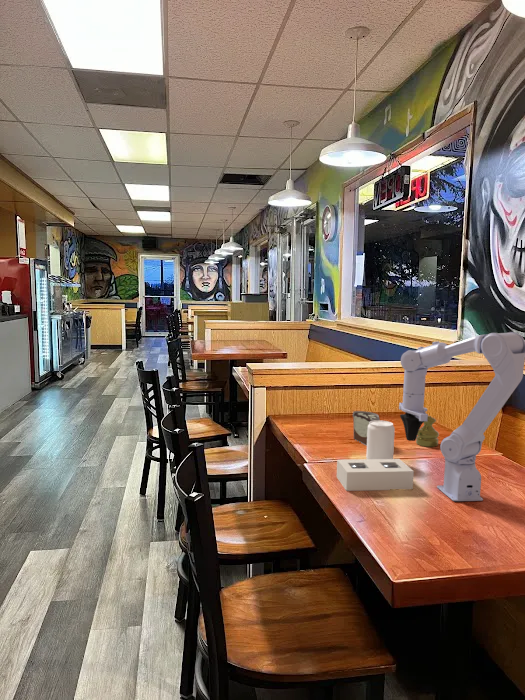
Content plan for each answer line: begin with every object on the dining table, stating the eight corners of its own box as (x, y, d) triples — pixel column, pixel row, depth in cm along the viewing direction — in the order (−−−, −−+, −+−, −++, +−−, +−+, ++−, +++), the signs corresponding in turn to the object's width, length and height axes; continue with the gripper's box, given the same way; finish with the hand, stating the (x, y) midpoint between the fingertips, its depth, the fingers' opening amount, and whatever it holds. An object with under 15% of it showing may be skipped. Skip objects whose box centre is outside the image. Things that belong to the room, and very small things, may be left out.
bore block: (412, 489, 132) (413, 471, 132) (346, 490, 130) (347, 472, 130) (398, 475, 142) (399, 458, 141) (336, 477, 140) (337, 459, 140)
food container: (386, 446, 170) (387, 417, 169) (371, 448, 168) (372, 419, 167) (366, 436, 182) (367, 409, 181) (351, 438, 179) (352, 410, 178)
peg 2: (399, 483, 135) (400, 467, 134) (385, 483, 134) (385, 467, 134) (393, 478, 139) (394, 462, 138) (379, 478, 138) (380, 462, 138)
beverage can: (393, 458, 158) (394, 421, 156) (392, 466, 150) (394, 427, 149) (366, 455, 160) (368, 419, 158) (365, 463, 152) (367, 425, 151)
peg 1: (366, 484, 134) (367, 468, 133) (352, 484, 133) (353, 468, 133) (362, 478, 138) (363, 463, 137) (348, 479, 137) (348, 463, 137)
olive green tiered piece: (416, 446, 171) (418, 417, 170) (415, 440, 179) (416, 413, 177) (439, 448, 170) (441, 419, 169) (437, 442, 177) (438, 414, 176)
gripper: (439, 398, 133) (436, 447, 135) (416, 388, 148) (413, 432, 149) (414, 398, 132) (411, 448, 134) (393, 388, 147) (390, 433, 148)
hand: (410, 440), depth 141 cm, fingers closed
